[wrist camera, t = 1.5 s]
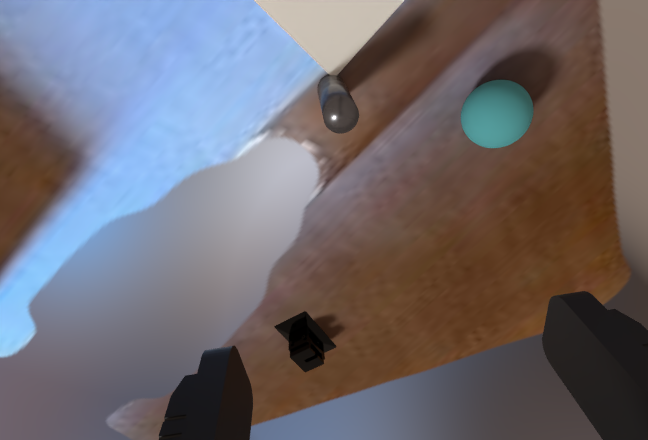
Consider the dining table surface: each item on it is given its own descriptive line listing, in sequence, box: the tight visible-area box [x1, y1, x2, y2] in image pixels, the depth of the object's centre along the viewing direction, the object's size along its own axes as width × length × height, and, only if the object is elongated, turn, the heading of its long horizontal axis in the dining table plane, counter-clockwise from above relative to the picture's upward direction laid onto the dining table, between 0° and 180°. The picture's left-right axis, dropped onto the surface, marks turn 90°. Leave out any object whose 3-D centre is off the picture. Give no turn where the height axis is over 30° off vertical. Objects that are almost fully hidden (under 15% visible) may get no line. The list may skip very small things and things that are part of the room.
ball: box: [461, 80, 533, 148], centre depth 35 cm, size 6×6×6 cm
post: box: [318, 75, 359, 133], centre depth 32 cm, size 3×3×9 cm
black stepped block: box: [275, 312, 336, 372], centre depth 51 cm, size 12×7×5 cm, turn 31°
